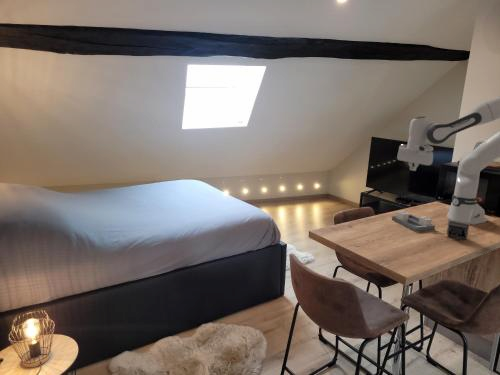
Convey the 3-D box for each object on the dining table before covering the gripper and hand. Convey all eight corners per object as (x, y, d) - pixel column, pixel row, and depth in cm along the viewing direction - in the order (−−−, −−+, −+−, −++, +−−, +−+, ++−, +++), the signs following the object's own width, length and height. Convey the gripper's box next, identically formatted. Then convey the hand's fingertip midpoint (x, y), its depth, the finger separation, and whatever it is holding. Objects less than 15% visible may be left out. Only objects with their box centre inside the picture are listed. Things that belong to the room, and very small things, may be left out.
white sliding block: (401, 218, 207) (403, 210, 206) (407, 221, 203) (409, 212, 201) (396, 218, 206) (397, 210, 205) (402, 221, 202) (403, 213, 200)
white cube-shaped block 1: (423, 224, 199) (425, 215, 198) (430, 227, 194) (432, 218, 193) (418, 224, 198) (419, 215, 197) (424, 227, 193) (426, 218, 192)
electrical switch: (467, 238, 183) (470, 221, 180) (466, 242, 179) (469, 225, 176) (446, 234, 188) (449, 218, 185) (445, 238, 184) (447, 221, 181)
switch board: (410, 218, 211) (410, 214, 211) (434, 230, 194) (435, 225, 193) (391, 219, 208) (392, 215, 207) (414, 231, 190) (415, 227, 190)
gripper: (396, 144, 209) (393, 167, 212) (429, 148, 192) (425, 174, 195) (403, 143, 212) (400, 166, 215) (436, 148, 195) (432, 173, 198)
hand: (412, 170), depth 205 cm, fingers closed
